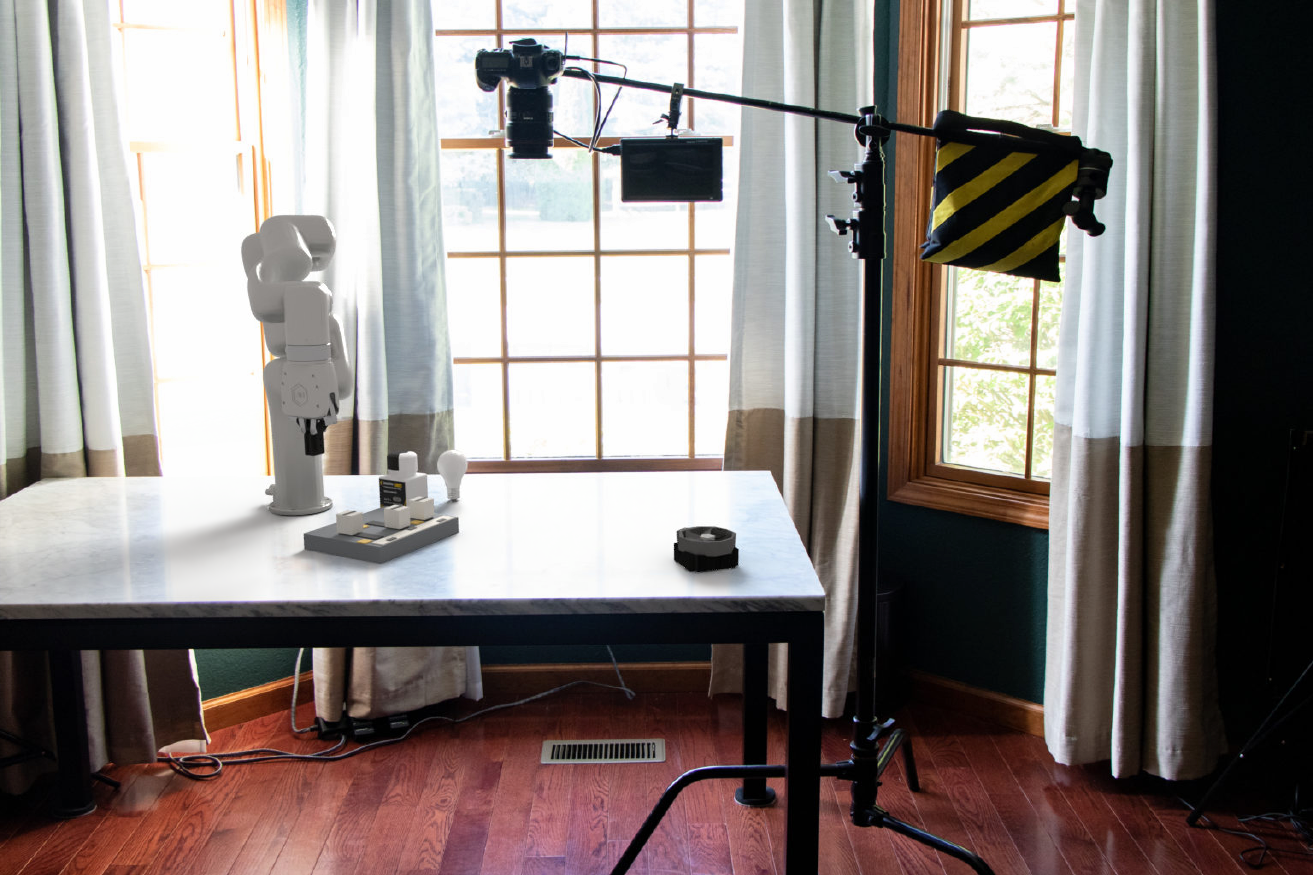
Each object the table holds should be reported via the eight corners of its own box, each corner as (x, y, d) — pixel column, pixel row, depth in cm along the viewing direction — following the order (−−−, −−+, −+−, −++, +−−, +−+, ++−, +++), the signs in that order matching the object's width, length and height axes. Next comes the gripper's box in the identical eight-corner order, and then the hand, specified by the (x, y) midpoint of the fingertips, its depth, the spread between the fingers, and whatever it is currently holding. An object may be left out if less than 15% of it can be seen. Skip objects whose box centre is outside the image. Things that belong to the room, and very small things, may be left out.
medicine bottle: (379, 510, 223) (376, 453, 221) (402, 502, 229) (400, 447, 227) (406, 514, 220) (403, 457, 218) (429, 506, 226) (426, 450, 224)
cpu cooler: (745, 537, 185) (691, 543, 181) (744, 569, 186) (690, 576, 182) (720, 522, 194) (668, 527, 191) (720, 552, 196) (668, 558, 192)
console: (304, 549, 196) (303, 531, 196) (386, 520, 215) (385, 504, 215) (380, 563, 188) (380, 545, 188) (459, 532, 207) (458, 515, 207)
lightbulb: (465, 504, 228) (463, 453, 226) (435, 504, 228) (433, 453, 226) (471, 496, 234) (469, 447, 232) (442, 496, 234) (440, 447, 232)
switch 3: (409, 517, 205) (408, 499, 204) (420, 514, 208) (419, 495, 207) (424, 520, 204) (423, 501, 203) (434, 516, 206) (433, 497, 206)
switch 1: (337, 532, 195) (336, 513, 195) (348, 528, 198) (347, 509, 197) (351, 535, 194) (350, 515, 193) (363, 531, 196) (362, 511, 196)
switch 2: (384, 526, 199) (383, 507, 198) (395, 522, 202) (394, 504, 201) (399, 529, 198) (398, 510, 197) (410, 525, 200) (409, 506, 199)
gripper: (262, 354, 193) (269, 454, 196) (324, 358, 186) (331, 462, 190) (293, 349, 200) (300, 447, 203) (355, 354, 193) (360, 454, 196)
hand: (315, 454), depth 196 cm, fingers closed
